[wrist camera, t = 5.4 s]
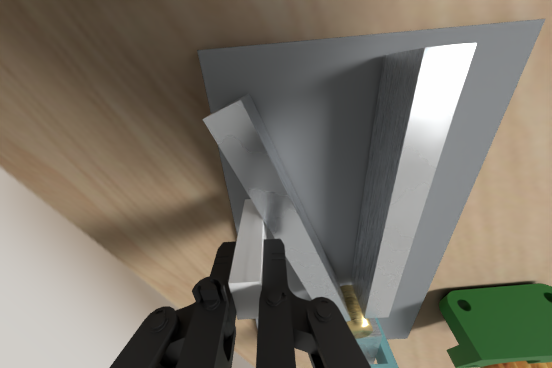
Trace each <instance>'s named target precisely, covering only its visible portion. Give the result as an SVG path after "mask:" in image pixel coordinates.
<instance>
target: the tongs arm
mask: <svg viewBox="0 0 552 368" xmlns="http://www.w3.org/2000/svg"><path fill="white" fill-rule="evenodd" d="M203 121H204V123H205V124H206V126H207V128H208V129H209V131H210V133H211V134H212V136H213V137H214V139H215V141H216V142H217V144H218V146H219V147H220V149H221V151H222V152H223V154H224V156H225V157H226V159H227V160H228V162H229V164H230V165H231V167H232V169H233V170H234V172H235V174H236V175H237V177H238V179H239V180H240V182H241V183H242V185H243V187H244V188H245V190H246V192H247V193H248V195H249V197H250V198H251V200H252V202H253V203H254V205H255V206H256V208H257V210H258V211H259V213H260V215H261V216H262V218H263V220H264V221H265V223H266V225H267V226H268V228H269V229H270V231H271V233H272V234H273V236H274V238H275V239H281V240H282V242H283V243H284V245H285V256H286V257H287V259H288V261H289V262H290V264H291V266H292V267H293V269H294V271H295V272H296V274H297V275H298V277H299V279H300V280H301V282H302V284H303V285H304V287H305V289H306V290H307V292H308V294H309V295H310V297H311V298H312V299H314V298H316V297H325V298H329V299H330V300H332V301H333V302H334V303H335V304H336V305H337V306H338V308H339V310H340V312H341V313H342V315H343V317H344V319H345V321H346V322H347V321H351V319H350V315H349V312H348V309H347V306H346V303H345V299H344V296H343V293H342V290H341V287H340V283H339V281H338V279H337V277H336V275H335V273H334V271H333V269H332V267H331V264H330V262H329V260H328V258H327V256H326V254H325V252H324V250H323V248H322V246H321V243H320V241H319V239H318V237H317V235H316V233H315V231H314V229H313V227H312V224H311V222H310V220H309V218H308V216H307V214H306V212H305V210H304V208H303V206H302V203H301V201H300V199H299V197H298V195H297V193H296V191H295V189H294V187H293V185H292V182H291V180H290V178H289V176H288V174H287V172H286V170H285V168H284V166H283V164H282V161H281V159H280V157H279V155H278V153H277V151H276V149H275V147H274V145H273V142H272V140H271V138H270V136H269V134H268V132H267V130H266V128H265V126H264V124H263V121H262V119H261V117H260V115H259V113H258V111H257V109H256V107H255V105H254V103H253V100H252V98H251V96H250V94H247V95H245V96H243V97H241V98H239V99H237V100H235V101H233V102H231V103H229V104H227V105H225V106H224V107H222V108H220V109H218V110H217V111H215V112H213V113H212V114H210V115H208V116H207V117H205V118H204V119H203Z"/></svg>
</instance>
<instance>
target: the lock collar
mask: <svg viewBox="0 0 552 368" xmlns="http://www.w3.org/2000/svg"><path fill="white" fill-rule="evenodd" d="M375 320H376V322H377V324H378V327H379V329H380V332H381V334H382V339H381V342H380V345H379V349H378V352H377V355H376V360H377V363H378V364H370V366H371V368H398V365H397V363H396V360H395V358H394V356H393V353H392V351H391V349H390V346H389V344H388V342H387V339H386V337H385V335H384V332H383V330H382V328H381V325H380V323H379V320H378V318H375Z"/></svg>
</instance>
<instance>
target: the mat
mask: <svg viewBox="0 0 552 368" xmlns="http://www.w3.org/2000/svg"><path fill="white" fill-rule="evenodd" d="M544 21H545V19H538V20H527V21H515V22H504V23H493V24H482V25H471V26H460V27H449V28H438V29H427V30H416V31H405V32H394V33H383V34H372V35H361V36H350V37H339V38H327V39H316V40H305V41H294V42H283V43H272V44H261V45H250V46H239V47H228V48H217V49H206V50H197V52H198V56H199V61H200V65H201V70H202V75H203V79H204V84H205V88H206V93H207V98H208V102H209V107H210V112H211V114H212V113H213V112H215V111H217V110H218V109H220V108H222V107H224V106H225V105H227V104H229V103H231V102H233V101H235V100H237V99H239V98H241V97H243V96H245V95H247V94H250V96H251V98H252V100H253V103H254V105H255V107H256V109H257V111H258V113H259V115H260V117H261V119H262V121H263V124H264V126H265V128H266V130H267V132H268V134H269V136H270V138H271V140H272V142H273V145H274V147H275V149H276V151H277V153H278V155H279V157H280V159H281V161H282V164H283V166H284V168H285V170H286V172H287V174H288V176H289V178H290V180H291V182H292V185H293V187H294V189H295V191H296V193H297V195H298V197H299V199H300V201H301V203H302V206H303V208H304V210H305V212H306V214H307V216H308V218H309V220H310V222H311V224H312V227H313V229H314V231H315V233H316V235H317V237H318V239H319V241H320V243H321V246H322V248H323V250H324V252H325V254H326V256H327V258H328V260H329V262H330V264H331V267H332V269H333V271H334V273H335V275H336V277H337V279H338V281H339V283H340V286H343V285H352V284H351V275H352V268H353V261H354V254H355V247H356V240H357V234H358V227H359V220H360V213H361V206H362V199H363V193H364V186H365V179H366V172H367V165H368V158H369V152H370V145H371V138H372V131H373V124H374V118H375V111H376V104H377V97H378V90H379V83H380V77H381V70H382V63H383V56H384V55H386V54H392V53H397V52H403V51H408V50H414V49H420V48H425V47H436V46H448V45H459V44H470V43H476V46H475V49H474V52H473V56H472V59H471V62H470V65H469V68H468V71H467V74H466V77H465V81H464V84H463V87H462V90H461V93H460V96H459V99H458V102H457V105H456V109H455V112H454V115H453V118H452V121H451V124H450V127H449V130H448V134H447V137H446V140H445V143H444V146H443V149H442V152H441V155H440V158H439V162H438V165H437V168H436V171H435V174H434V177H433V180H432V183H431V186H430V190H429V193H428V196H427V199H426V202H425V205H424V208H423V211H422V215H421V218H420V221H419V224H418V227H417V230H416V233H415V236H414V239H413V243H412V246H411V249H410V252H409V255H408V258H407V261H406V264H405V268H404V271H403V274H402V277H401V280H400V283H399V286H398V289H397V292H396V296H395V299H394V302H393V305H392V308H391V311H390V314H389V317H385V318H378V320H379V323H380V325H381V328H382V330H383V332H384V335H385V337H386V339H405V338H408V335H409V333H410V331H411V328H412V326H413V324H414V321H415V319H416V317H417V315H418V312H419V310H420V308H421V305H422V303H423V301H424V298H425V296H426V294H427V291H428V289H429V287H430V284H431V282H432V280H433V278H434V275H435V273H436V271H437V268H438V266H439V264H440V261H441V259H442V257H443V254H444V252H445V250H446V247H447V245H448V243H449V241H450V238H451V236H452V234H453V231H454V229H455V227H456V224H457V222H458V220H459V217H460V215H461V213H462V211H463V208H464V206H465V204H466V201H467V199H468V197H469V194H470V192H471V190H472V187H473V185H474V183H475V180H476V178H477V176H478V174H479V171H480V169H481V167H482V164H483V162H484V160H485V157H486V155H487V153H488V150H489V148H490V146H491V144H492V141H493V139H494V137H495V134H496V132H497V130H498V127H499V125H500V123H501V120H502V118H503V116H504V113H505V111H506V109H507V107H508V104H509V102H510V100H511V97H512V95H513V93H514V90H515V88H516V86H517V83H518V81H519V79H520V76H521V74H522V72H523V70H524V67H525V65H526V63H527V60H528V58H529V56H530V53H531V51H532V49H533V46H534V44H535V42H536V40H537V37H538V35H539V33H540V30H541V28H542V26H543V23H544ZM218 149H219V153H220V158H221V162H222V167H223V172H224V176H225V181H226V185H227V190H228V195H229V199H230V204H231V209H232V213H233V218H234V222H235V227H236V232H237V236H238V232H239V227H240V222H241V217H242V212H243V207H244V202H245V199H251V198H250V197H249V195H248V193H247V192H246V190H245V188H244V187H243V185H242V183H241V182H240V180H239V179H238V177H237V175H236V174H235V172H234V170H233V169H232V167H231V165H230V164H229V162H228V160H227V159H226V157H225V156H224V154H223V152H222V151H221V149H220V147H219V146H218ZM267 239H275V238H274V236H273V234H272V233H271V231H270V229H269V228H268V226H267ZM285 257H286V256H285ZM286 268H287V280H288V286H289V289H290V290H291V292H292V293H293V294H294V295H296V296H297V297H299V298H302V299H305V300H309V301H311V300H312V298H311V297H310V295H309V294H308V292H307V290H306V289H305V287H304V285H303V284H302V282H301V280H300V279H299V277H298V275H297V274H296V272H295V271H294V269H293V267H292V266H291V264H290V262H289V261H288V259H287V257H286ZM256 324H257V329H258V318H257V319H256Z"/></svg>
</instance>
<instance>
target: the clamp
mask: <svg viewBox="0 0 552 368" xmlns="http://www.w3.org/2000/svg"><path fill="white" fill-rule="evenodd" d="M439 308H440V311H441V313H442V315H443V317H444V318H445V320H446V322H447V324H448V326H449V327H450V329H451V331H452V333H453V334H454V336H455V338H456V340H457V342H458V343H459V345H458V346H455V347H453V348H451V349H448V350H447V352H448V354H449V356H450V358H451V360H452V362H453V364H454V366H455V368H471V367H484V366H488V365H493V364H499V363H507V362H516V361H527V363H528V364H532V363H547V362H552V287H551V286H549V285H546V284H527V285H515V286H503V287H491V288H479V289H467V290H455V291H451V292H450V293H448V294H447V295H446V296H445V297H444V298H442V299H441V300H440V302H439Z"/></svg>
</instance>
